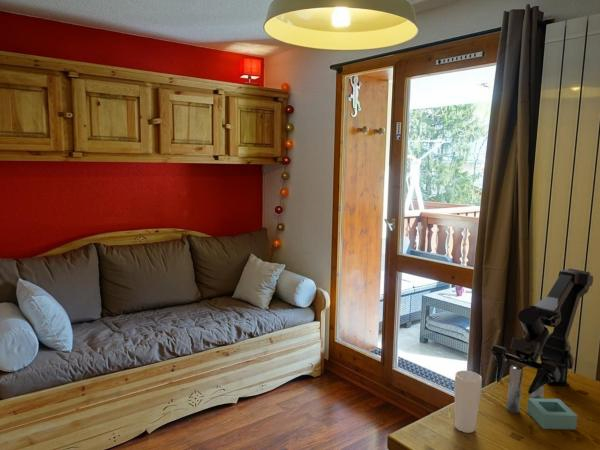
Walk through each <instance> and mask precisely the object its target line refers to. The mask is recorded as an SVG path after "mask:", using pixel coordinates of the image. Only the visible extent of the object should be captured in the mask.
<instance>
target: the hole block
mask: <svg viewBox="0 0 600 450" xmlns="http://www.w3.org/2000/svg"><path fill="white" fill-rule="evenodd" d="M526 409H527V410H526V412H527V413H528V414H529V415H530V417H532V418H533V420H534V421H535V422H537V424H538V425H539V426H540V428H542V429H543V430H577V422H578V415H577V414H576V413H575V412H574V411H573V410H572V409H571V408H570V407H569V406H568V405H566V403H564V402H563V401H562V400H561V398H543V399H535V398H527V408H526Z"/></svg>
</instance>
